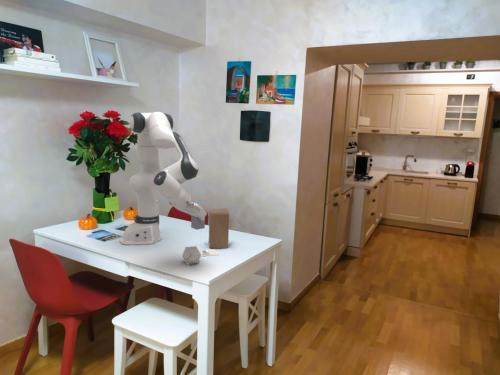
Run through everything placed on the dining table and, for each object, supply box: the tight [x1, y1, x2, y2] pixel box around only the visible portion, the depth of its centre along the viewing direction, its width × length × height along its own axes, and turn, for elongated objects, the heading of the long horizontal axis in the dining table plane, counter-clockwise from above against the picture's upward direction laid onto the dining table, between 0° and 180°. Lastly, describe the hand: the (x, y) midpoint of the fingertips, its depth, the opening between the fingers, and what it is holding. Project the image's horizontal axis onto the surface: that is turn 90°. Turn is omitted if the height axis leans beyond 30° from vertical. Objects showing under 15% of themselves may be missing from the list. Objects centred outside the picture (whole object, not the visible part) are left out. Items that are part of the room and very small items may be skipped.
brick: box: [190, 215, 206, 230], centre depth 175 cm, size 5×5×8 cm
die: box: [181, 245, 201, 265], centre depth 176 cm, size 8×9×10 cm
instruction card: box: [199, 248, 219, 258], centre depth 190 cm, size 12×8×1 cm, turn 112°
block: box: [208, 208, 230, 249], centre depth 201 cm, size 10×10×20 cm
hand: (199, 218), depth 175 cm, fingers closed on brick, 5 cm apart
